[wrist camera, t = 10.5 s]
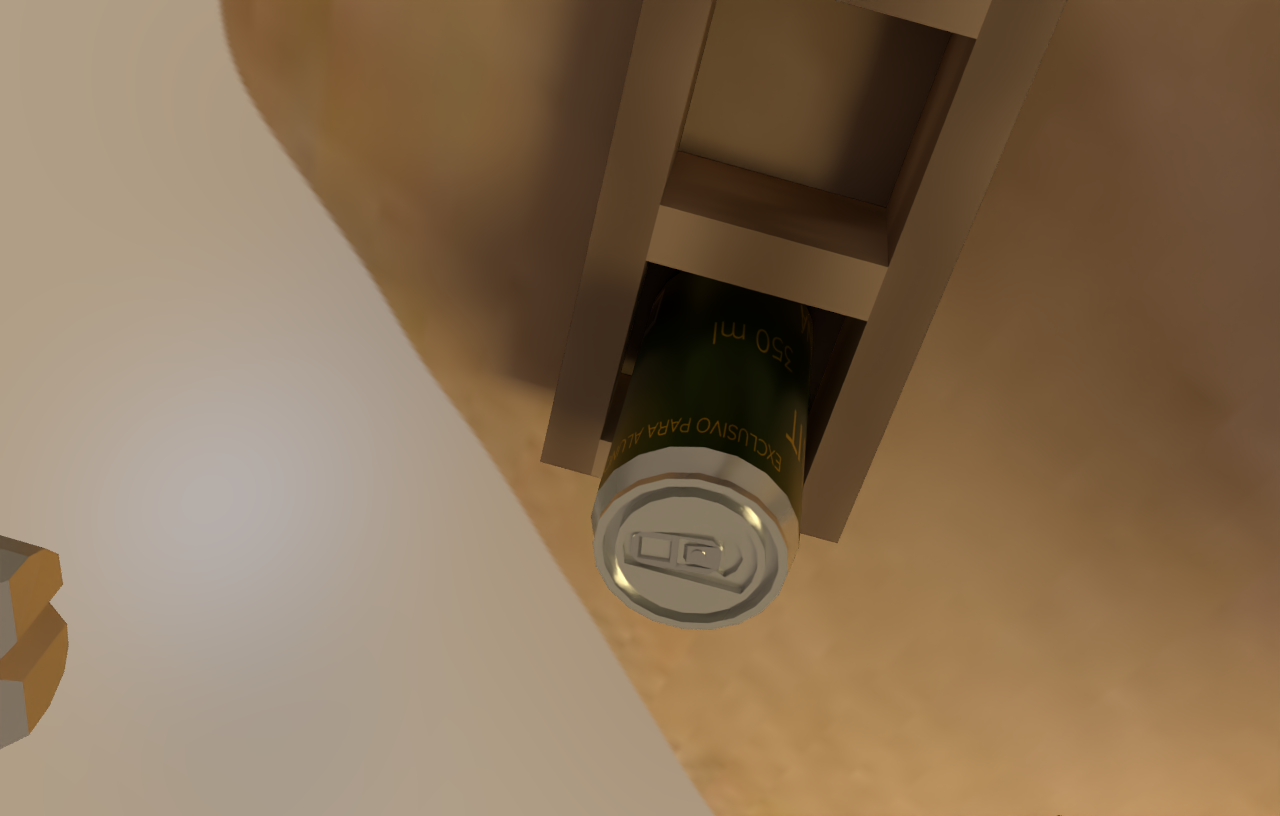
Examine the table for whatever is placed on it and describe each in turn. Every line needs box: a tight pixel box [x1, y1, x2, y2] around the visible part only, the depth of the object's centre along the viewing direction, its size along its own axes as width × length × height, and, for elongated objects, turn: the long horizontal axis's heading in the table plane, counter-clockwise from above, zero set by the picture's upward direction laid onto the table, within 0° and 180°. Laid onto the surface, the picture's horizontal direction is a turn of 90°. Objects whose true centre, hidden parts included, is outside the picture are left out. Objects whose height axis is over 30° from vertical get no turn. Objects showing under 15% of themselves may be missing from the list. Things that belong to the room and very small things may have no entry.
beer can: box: [591, 271, 813, 630], centre depth 36 cm, size 5×5×12 cm
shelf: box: [540, 0, 1067, 543], centre depth 36 cm, size 10×18×4 cm, turn 167°
